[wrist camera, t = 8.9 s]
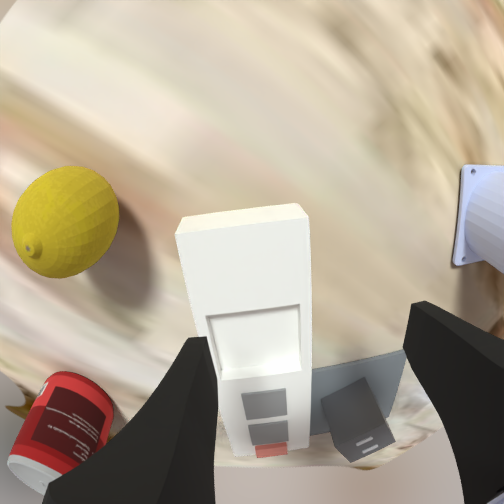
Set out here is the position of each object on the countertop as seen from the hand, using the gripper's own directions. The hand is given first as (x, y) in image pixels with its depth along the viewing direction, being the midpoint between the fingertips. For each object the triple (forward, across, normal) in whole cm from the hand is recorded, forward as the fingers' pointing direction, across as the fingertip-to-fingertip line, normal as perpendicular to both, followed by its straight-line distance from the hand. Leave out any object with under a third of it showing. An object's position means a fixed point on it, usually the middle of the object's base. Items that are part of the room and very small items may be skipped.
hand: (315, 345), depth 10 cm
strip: (+10, +2, +11) cm, 15 cm away
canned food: (+11, +20, +14) cm, 27 cm away
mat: (+10, -6, +17) cm, 21 cm away
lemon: (+11, +11, -4) cm, 16 cm away
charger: (+10, -6, +17) cm, 20 cm away
